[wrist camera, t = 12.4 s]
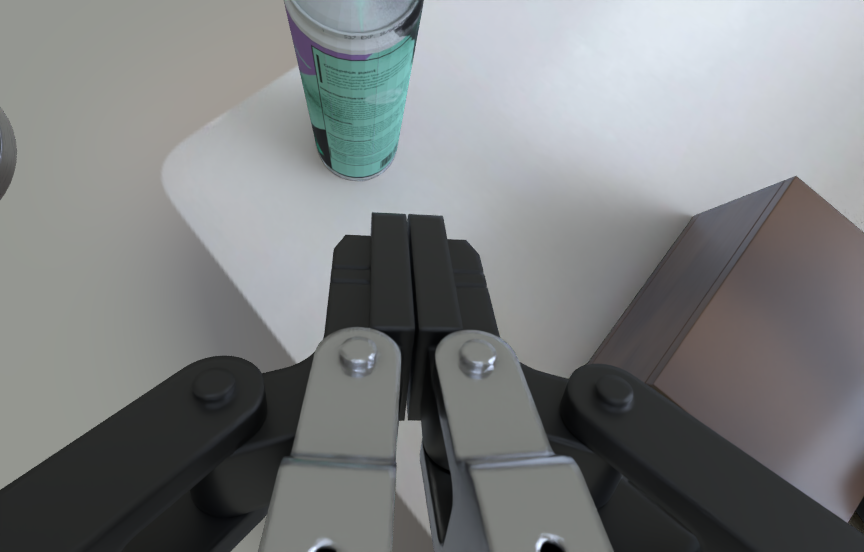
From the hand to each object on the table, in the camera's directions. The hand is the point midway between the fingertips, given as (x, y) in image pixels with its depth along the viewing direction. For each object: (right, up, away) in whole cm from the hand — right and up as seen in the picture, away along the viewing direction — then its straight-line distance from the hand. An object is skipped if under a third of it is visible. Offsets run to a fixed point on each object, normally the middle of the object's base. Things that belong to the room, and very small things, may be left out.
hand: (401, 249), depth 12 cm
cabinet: (+20, -6, +27) cm, 34 cm away
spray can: (-4, +9, +26) cm, 28 cm away
